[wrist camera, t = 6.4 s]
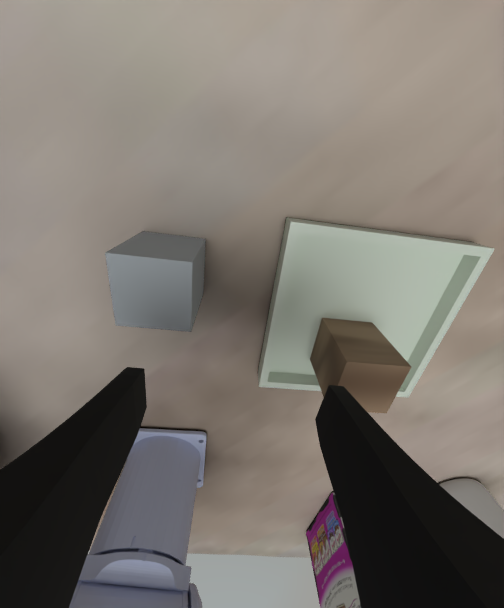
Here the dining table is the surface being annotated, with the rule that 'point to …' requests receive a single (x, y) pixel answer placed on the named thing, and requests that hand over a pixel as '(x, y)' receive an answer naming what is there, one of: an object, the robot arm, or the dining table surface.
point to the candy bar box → (332, 559)
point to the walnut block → (358, 362)
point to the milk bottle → (477, 502)
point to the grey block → (157, 280)
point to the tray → (363, 294)
